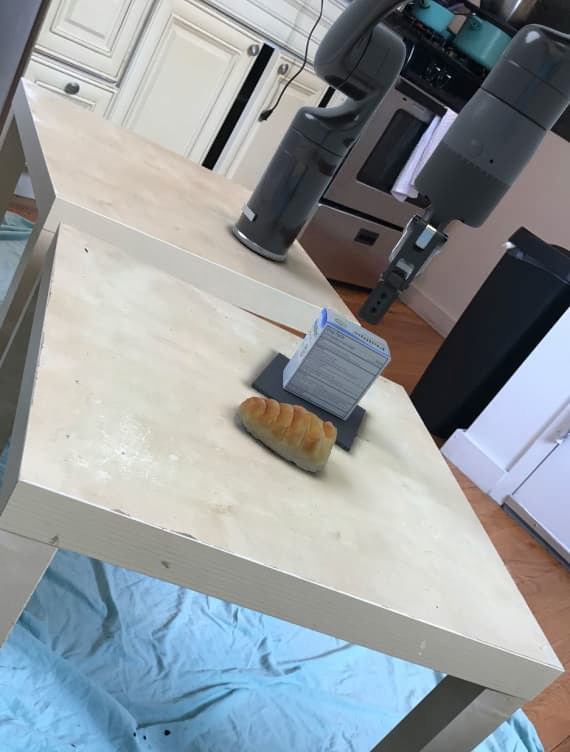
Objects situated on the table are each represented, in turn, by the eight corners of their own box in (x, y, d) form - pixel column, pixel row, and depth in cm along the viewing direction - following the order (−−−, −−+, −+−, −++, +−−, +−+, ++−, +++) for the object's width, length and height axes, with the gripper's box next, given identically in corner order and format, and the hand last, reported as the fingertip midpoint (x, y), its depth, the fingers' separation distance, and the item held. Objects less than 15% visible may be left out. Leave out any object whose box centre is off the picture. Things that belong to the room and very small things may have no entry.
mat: (277, 355, 86) (279, 352, 86) (364, 413, 86) (366, 410, 86) (250, 385, 76) (252, 382, 76) (348, 452, 76) (350, 449, 75)
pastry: (231, 433, 66) (252, 400, 64) (235, 400, 72) (255, 368, 70) (320, 480, 68) (344, 449, 66) (318, 444, 74) (340, 414, 72)
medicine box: (341, 403, 83) (387, 340, 79) (345, 423, 80) (393, 358, 75) (281, 371, 82) (324, 305, 77) (281, 389, 78) (327, 321, 74)
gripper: (516, 189, 60) (395, 350, 69) (511, 177, 72) (409, 315, 81) (439, 138, 61) (328, 305, 69) (447, 134, 73) (352, 277, 81)
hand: (372, 310), depth 75 cm, fingers open, 8 cm apart
